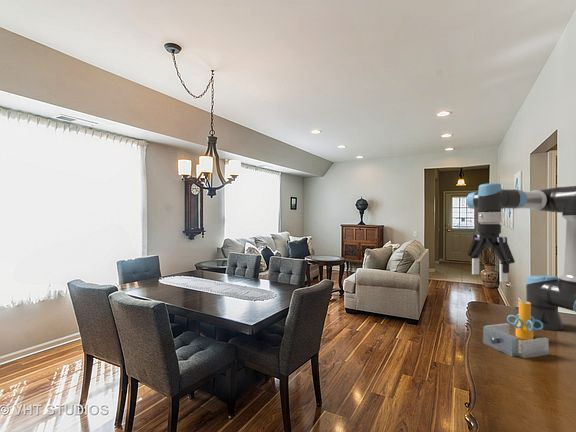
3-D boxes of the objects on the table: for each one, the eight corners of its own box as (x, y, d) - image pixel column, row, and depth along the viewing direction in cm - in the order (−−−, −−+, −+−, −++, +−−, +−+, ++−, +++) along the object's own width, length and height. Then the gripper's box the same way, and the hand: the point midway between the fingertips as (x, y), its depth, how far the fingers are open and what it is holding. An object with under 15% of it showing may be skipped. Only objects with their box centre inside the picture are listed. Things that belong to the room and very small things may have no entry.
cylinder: (547, 345, 121) (548, 307, 121) (518, 342, 123) (518, 305, 123) (530, 333, 133) (530, 299, 133) (503, 331, 135) (503, 297, 135)
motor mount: (507, 337, 128) (507, 322, 128) (548, 354, 113) (548, 337, 113) (474, 341, 124) (475, 325, 124) (513, 359, 108) (513, 341, 108)
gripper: (458, 222, 130) (457, 271, 131) (508, 224, 106) (507, 285, 106) (473, 222, 132) (473, 271, 132) (527, 224, 107) (526, 284, 107)
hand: (488, 277), depth 119 cm, fingers open, 13 cm apart
